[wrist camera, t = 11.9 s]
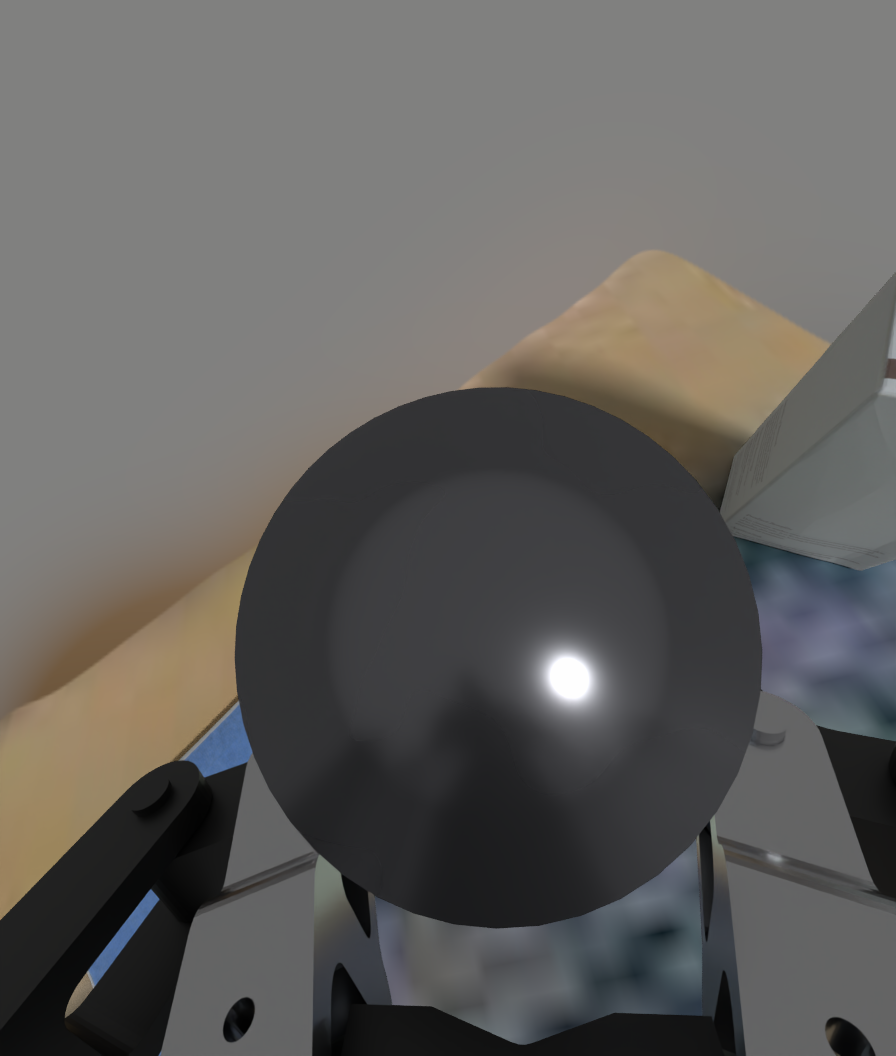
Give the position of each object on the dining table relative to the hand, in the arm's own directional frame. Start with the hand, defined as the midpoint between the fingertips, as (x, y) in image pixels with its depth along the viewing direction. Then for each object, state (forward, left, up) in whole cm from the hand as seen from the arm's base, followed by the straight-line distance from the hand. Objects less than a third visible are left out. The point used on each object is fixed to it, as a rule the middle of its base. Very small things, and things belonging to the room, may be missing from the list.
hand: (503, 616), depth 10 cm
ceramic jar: (0, -1, -5) cm, 5 cm away
